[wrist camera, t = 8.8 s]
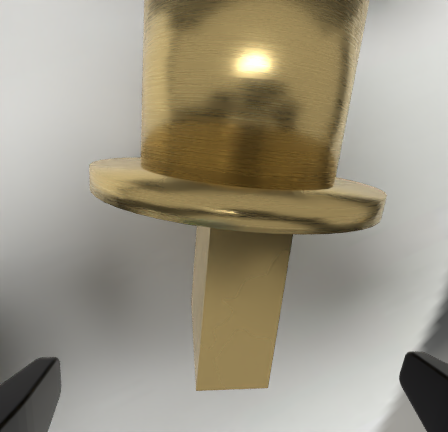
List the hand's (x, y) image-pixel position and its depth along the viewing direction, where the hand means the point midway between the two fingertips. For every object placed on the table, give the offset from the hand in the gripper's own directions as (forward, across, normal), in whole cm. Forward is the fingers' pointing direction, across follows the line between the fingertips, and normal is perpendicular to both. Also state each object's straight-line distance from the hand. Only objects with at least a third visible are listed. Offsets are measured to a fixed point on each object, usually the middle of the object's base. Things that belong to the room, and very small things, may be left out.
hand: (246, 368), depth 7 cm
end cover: (+7, 0, -4) cm, 8 cm away
